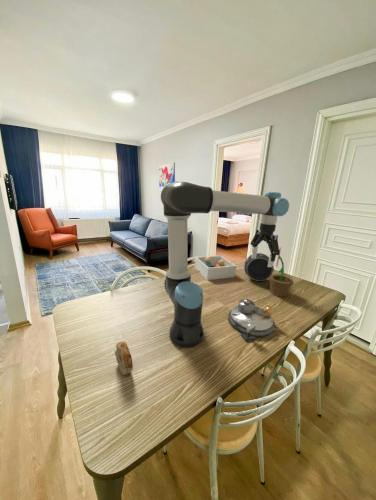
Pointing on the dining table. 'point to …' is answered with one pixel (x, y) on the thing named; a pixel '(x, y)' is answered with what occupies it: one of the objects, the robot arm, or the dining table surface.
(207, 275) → the parts crate
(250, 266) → the dark decorated bowl
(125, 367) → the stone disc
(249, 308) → the cover
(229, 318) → the turntable base
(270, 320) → the turntable
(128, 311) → the dining table surface
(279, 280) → the flowerpot
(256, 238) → the robot arm
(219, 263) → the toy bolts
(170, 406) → the dining table surface
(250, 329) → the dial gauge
